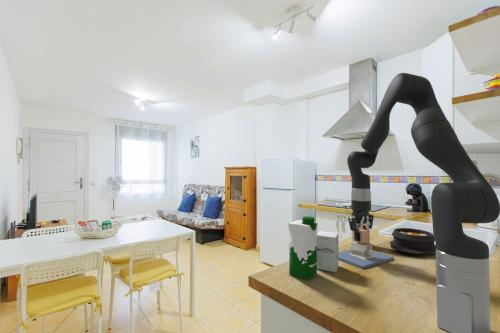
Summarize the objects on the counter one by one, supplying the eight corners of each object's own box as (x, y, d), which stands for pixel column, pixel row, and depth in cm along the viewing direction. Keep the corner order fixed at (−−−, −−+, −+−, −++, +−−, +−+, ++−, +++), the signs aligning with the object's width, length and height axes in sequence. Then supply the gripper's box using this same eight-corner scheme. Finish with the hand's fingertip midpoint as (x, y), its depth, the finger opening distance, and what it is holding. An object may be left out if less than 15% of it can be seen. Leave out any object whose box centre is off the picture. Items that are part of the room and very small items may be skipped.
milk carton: (309, 282, 77) (309, 220, 78) (285, 274, 83) (285, 217, 84) (320, 273, 84) (320, 216, 85) (297, 267, 90) (297, 213, 90)
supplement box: (315, 269, 88) (314, 234, 88) (319, 262, 95) (319, 230, 95) (336, 273, 85) (336, 237, 85) (339, 265, 91) (338, 232, 91)
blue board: (362, 269, 88) (362, 266, 88) (330, 256, 101) (330, 253, 101) (393, 259, 98) (393, 256, 98) (360, 249, 111) (360, 246, 111)
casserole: (428, 262, 95) (428, 241, 95) (379, 250, 109) (379, 231, 110) (446, 249, 110) (445, 231, 111) (401, 240, 125) (400, 224, 125)
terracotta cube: (362, 243, 97) (362, 232, 97) (353, 240, 100) (353, 229, 101) (369, 241, 99) (369, 230, 99) (360, 239, 103) (359, 228, 103)
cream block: (364, 258, 96) (364, 246, 96) (351, 254, 101) (351, 242, 101) (371, 256, 98) (371, 244, 98) (358, 252, 103) (358, 240, 103)
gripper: (357, 201, 93) (358, 245, 93) (379, 199, 100) (380, 240, 100) (341, 199, 100) (342, 240, 99) (363, 197, 107) (364, 235, 106)
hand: (361, 240), depth 100 cm, fingers closed on terracotta cube, 4 cm apart
